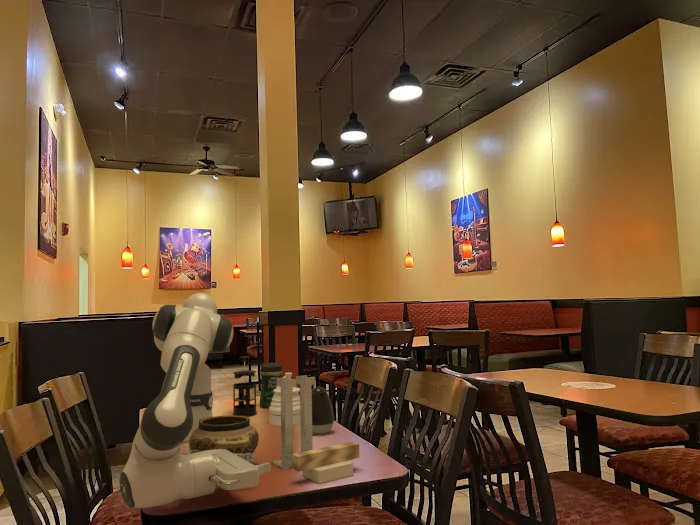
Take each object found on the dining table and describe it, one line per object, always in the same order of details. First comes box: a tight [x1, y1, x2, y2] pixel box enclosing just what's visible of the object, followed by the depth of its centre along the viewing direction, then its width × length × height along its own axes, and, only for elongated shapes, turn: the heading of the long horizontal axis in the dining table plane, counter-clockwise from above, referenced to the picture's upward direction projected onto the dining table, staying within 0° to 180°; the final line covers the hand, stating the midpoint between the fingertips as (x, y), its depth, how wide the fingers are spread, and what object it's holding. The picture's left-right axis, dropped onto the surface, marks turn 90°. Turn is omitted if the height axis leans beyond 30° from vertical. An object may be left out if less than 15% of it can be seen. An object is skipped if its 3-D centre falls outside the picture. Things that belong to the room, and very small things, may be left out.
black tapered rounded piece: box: [311, 386, 335, 435], centre depth 174 cm, size 10×10×15 cm
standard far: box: [295, 374, 316, 452], centre depth 144 cm, size 6×6×23 cm
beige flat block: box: [301, 460, 354, 485], centre depth 130 cm, size 10×8×3 cm
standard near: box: [272, 377, 297, 469], centre depth 141 cm, size 6×6×23 cm
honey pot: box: [268, 372, 300, 427], centre depth 193 cm, size 13×13×18 cm
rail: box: [291, 441, 360, 472], centre depth 130 cm, size 18×3×4 cm, turn 124°
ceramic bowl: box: [188, 414, 260, 455], centre depth 137 cm, size 24×18×15 cm
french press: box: [232, 355, 257, 418], centre depth 208 cm, size 12×9×23 cm
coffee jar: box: [259, 362, 283, 409], centre depth 223 cm, size 10×8×19 cm
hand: (260, 461), depth 120 cm, fingers open, 8 cm apart
